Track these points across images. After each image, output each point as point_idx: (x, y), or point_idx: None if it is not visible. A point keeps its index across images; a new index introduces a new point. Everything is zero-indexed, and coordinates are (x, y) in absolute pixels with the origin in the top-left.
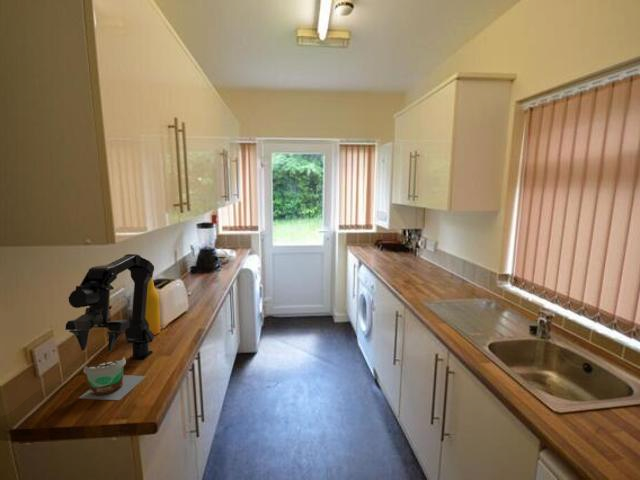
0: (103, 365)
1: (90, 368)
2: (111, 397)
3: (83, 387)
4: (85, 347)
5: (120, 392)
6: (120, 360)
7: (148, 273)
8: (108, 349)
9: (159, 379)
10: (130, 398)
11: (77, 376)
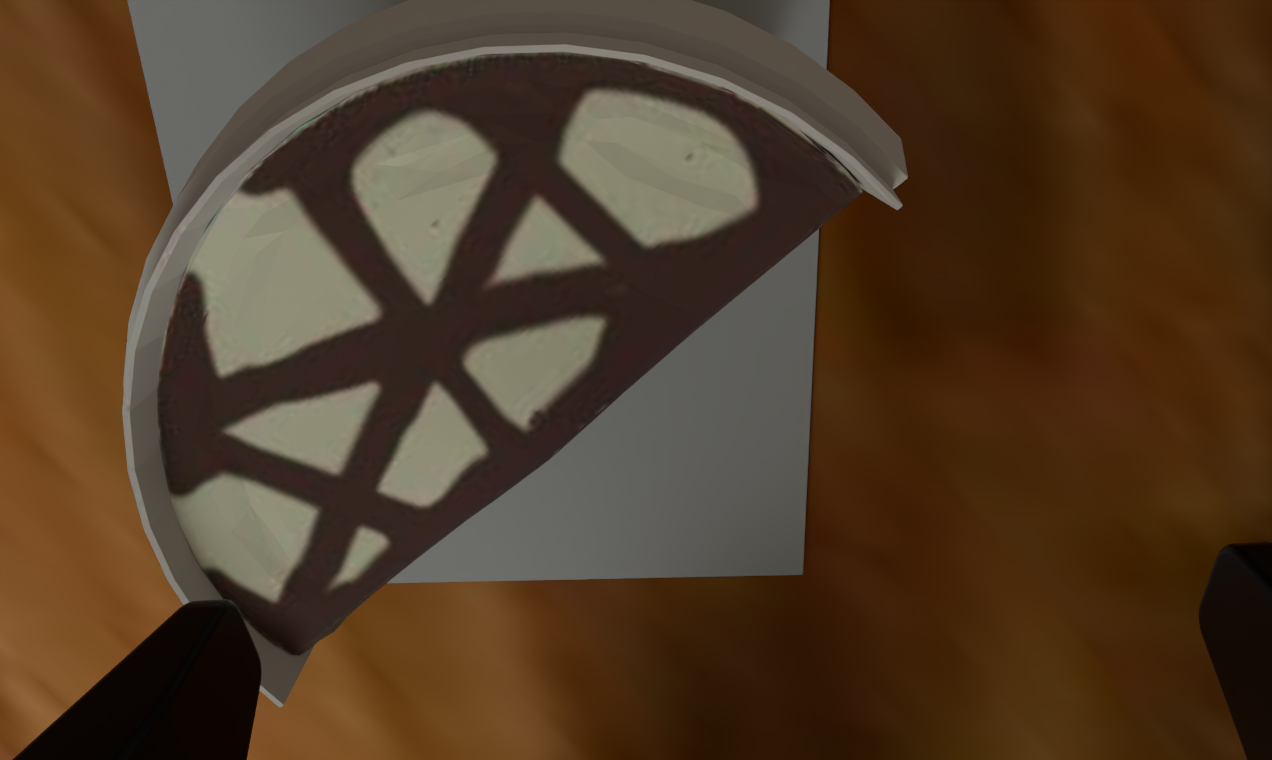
0: (476, 324)
1: (600, 46)
2: (305, 13)
3: (973, 236)
4: (1229, 692)
5: None
6: (278, 577)
7: None
8: (196, 636)
9: (31, 543)
10: (9, 42)
11: (1262, 488)
